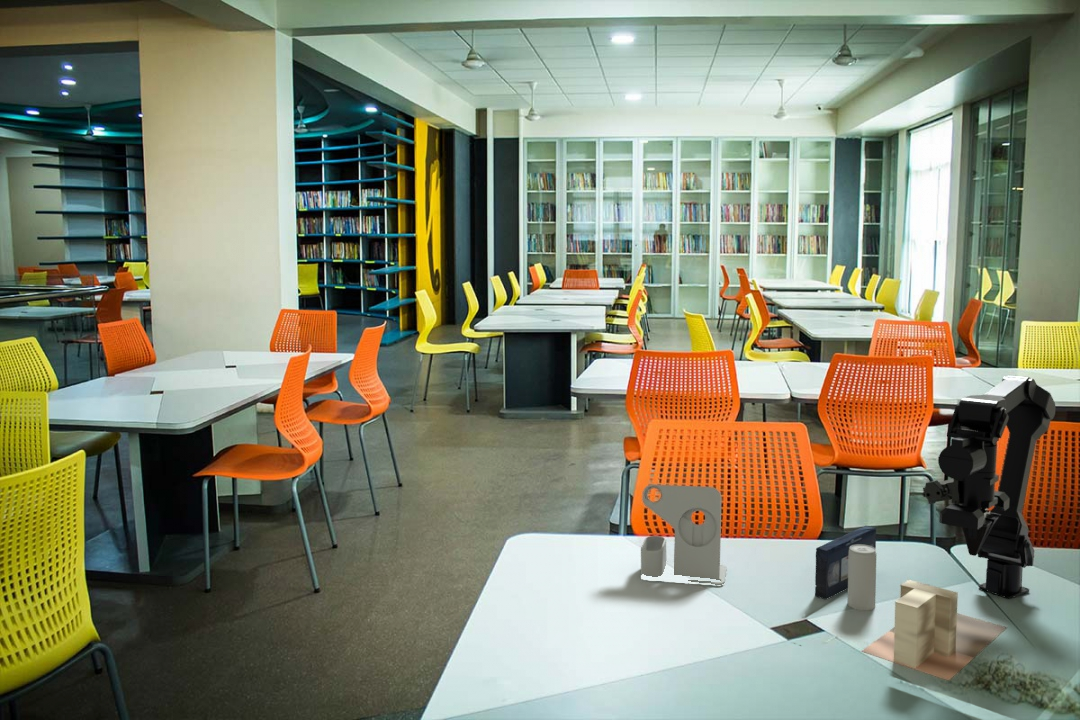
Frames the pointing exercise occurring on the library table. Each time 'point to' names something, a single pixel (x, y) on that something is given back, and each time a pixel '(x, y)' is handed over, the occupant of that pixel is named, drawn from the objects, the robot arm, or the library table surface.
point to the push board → (968, 645)
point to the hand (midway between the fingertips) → (973, 554)
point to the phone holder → (686, 533)
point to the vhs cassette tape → (838, 561)
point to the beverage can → (862, 577)
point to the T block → (924, 623)
